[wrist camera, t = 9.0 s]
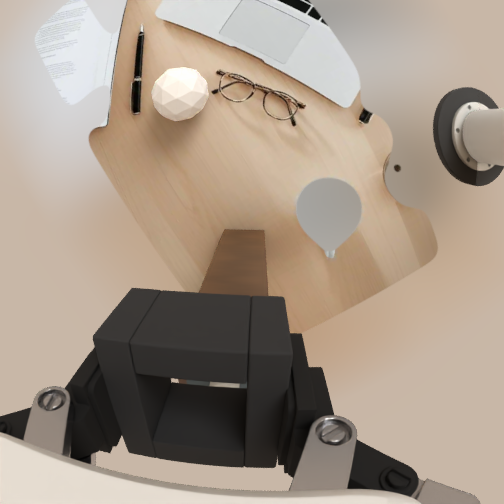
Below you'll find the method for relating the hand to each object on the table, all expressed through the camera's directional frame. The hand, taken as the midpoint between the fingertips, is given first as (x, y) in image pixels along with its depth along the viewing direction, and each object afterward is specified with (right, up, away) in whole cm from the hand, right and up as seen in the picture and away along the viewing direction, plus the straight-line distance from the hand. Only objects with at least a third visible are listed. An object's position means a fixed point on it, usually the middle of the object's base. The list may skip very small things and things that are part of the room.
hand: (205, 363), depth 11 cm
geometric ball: (-8, +27, +31) cm, 42 cm away
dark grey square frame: (0, 0, +1) cm, 0 cm away
